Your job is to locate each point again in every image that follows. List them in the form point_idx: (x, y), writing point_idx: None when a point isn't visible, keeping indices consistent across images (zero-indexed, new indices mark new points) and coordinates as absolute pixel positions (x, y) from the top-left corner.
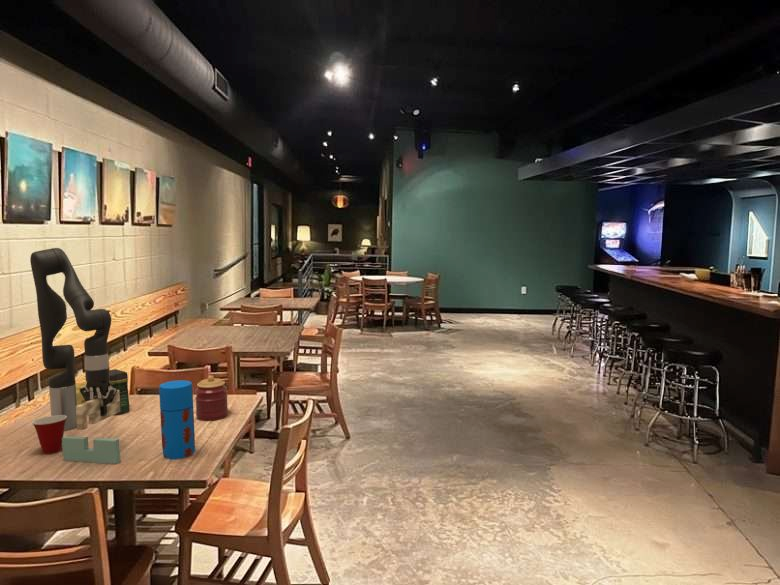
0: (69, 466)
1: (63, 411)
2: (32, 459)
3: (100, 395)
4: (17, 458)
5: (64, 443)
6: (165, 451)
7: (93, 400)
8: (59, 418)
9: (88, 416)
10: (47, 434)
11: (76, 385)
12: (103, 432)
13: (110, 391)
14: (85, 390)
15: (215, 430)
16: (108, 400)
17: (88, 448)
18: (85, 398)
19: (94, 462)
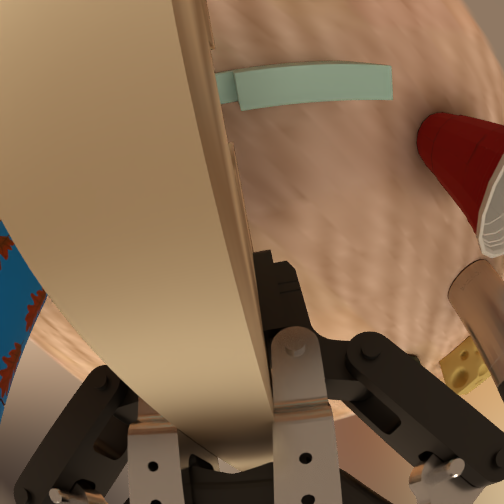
0: (260, 16)
1: (492, 305)
2: (446, 63)
3: (135, 481)
4: (484, 72)
5: (362, 63)
6: (2, 230)
7: (171, 395)
8: (497, 240)
9: (235, 170)
10: (481, 126)
11: (486, 376)
12: (369, 294)
13: (35, 501)
14: (446, 480)
15: (97, 366)
16: (72, 409)
17: (236, 99)
18: (416, 384)
19: None
